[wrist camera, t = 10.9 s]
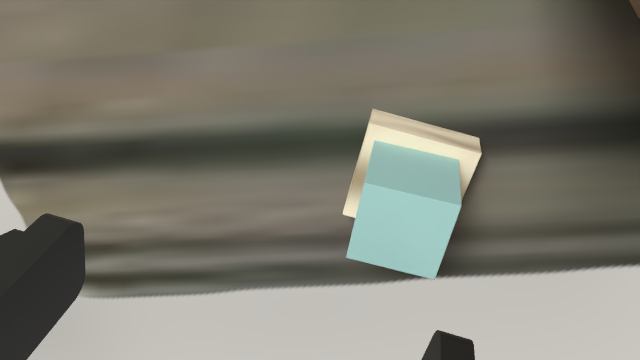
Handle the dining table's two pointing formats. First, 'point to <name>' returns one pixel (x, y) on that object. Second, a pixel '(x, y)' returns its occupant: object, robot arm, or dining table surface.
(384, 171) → the teal cube
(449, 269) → the dining table surface
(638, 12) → the wooden toy
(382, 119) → the maple pedestal
